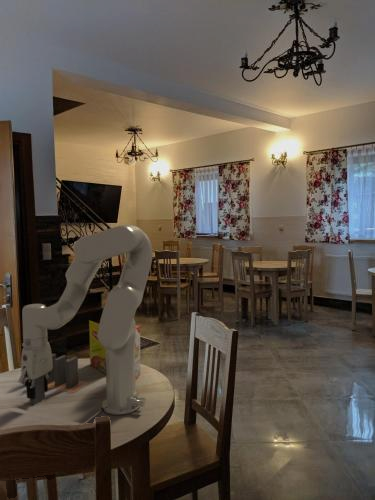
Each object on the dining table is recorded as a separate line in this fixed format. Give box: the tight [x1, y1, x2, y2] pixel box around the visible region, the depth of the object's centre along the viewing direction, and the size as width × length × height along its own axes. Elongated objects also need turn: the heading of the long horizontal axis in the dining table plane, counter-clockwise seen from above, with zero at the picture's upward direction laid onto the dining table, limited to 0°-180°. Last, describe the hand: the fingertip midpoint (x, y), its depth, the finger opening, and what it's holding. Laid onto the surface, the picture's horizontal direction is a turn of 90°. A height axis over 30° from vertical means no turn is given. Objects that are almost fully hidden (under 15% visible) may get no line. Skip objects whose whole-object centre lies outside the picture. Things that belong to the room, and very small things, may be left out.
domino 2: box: [48, 353, 57, 384], centre depth 144 cm, size 2×5×10 cm, turn 158°
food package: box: [88, 319, 106, 374], centre depth 156 cm, size 15×1×20 cm, turn 42°
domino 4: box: [65, 356, 79, 389], centre depth 140 cm, size 2×5×10 cm, turn 158°
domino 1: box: [29, 375, 46, 406], centre depth 128 cm, size 2×5×10 cm, turn 158°
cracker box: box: [135, 324, 141, 382], centre depth 144 cm, size 14×6×21 cm, turn 168°
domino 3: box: [54, 354, 68, 387], centre depth 142 cm, size 2×5×10 cm, turn 158°
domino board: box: [25, 378, 89, 394], centre depth 144 cm, size 26×9×1 cm, turn 68°
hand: (37, 394), depth 129 cm, fingers closed on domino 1, 4 cm apart
